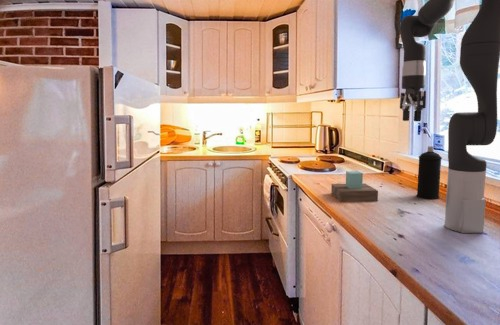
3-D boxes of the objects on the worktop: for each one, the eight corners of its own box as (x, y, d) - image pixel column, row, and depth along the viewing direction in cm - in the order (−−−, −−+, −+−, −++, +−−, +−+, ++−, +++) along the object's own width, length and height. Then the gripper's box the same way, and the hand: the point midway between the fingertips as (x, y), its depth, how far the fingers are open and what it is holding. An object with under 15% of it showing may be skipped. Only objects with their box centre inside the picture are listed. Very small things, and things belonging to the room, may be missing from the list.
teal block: (362, 188, 141) (362, 173, 140) (349, 188, 141) (349, 173, 140) (358, 185, 146) (358, 171, 145) (345, 186, 146) (346, 171, 145)
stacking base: (377, 201, 138) (378, 190, 137) (341, 201, 137) (341, 191, 136) (364, 192, 151) (364, 183, 151) (331, 193, 151) (331, 184, 150)
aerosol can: (426, 200, 138) (429, 147, 135) (411, 195, 146) (414, 145, 143) (444, 198, 140) (447, 146, 138) (428, 193, 148) (431, 145, 145)
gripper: (434, 72, 122) (432, 121, 124) (414, 76, 136) (412, 120, 138) (412, 72, 121) (410, 121, 124) (394, 76, 135) (392, 120, 138)
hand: (411, 121), depth 131 cm, fingers open, 8 cm apart
